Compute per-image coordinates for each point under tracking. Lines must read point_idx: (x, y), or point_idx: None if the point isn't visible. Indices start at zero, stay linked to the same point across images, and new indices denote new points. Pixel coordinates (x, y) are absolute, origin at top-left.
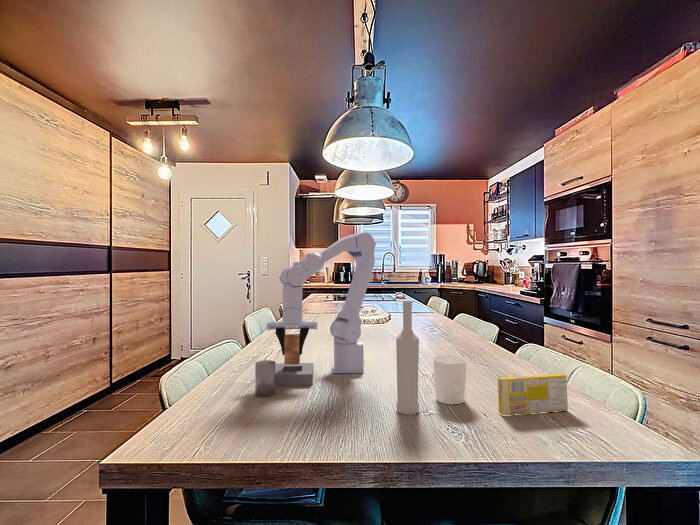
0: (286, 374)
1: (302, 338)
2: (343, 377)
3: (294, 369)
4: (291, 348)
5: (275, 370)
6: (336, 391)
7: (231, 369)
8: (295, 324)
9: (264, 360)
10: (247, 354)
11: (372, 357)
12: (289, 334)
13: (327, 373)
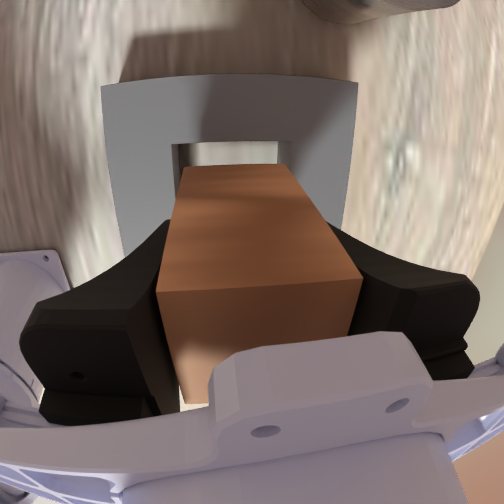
0: (258, 80)
1: (120, 279)
2: (12, 204)
3: None
4: (249, 211)
5: (326, 167)
6: (21, 21)
7: None
8: (210, 449)
9: (433, 5)
10: None
11: None
12: None
13: (82, 256)
